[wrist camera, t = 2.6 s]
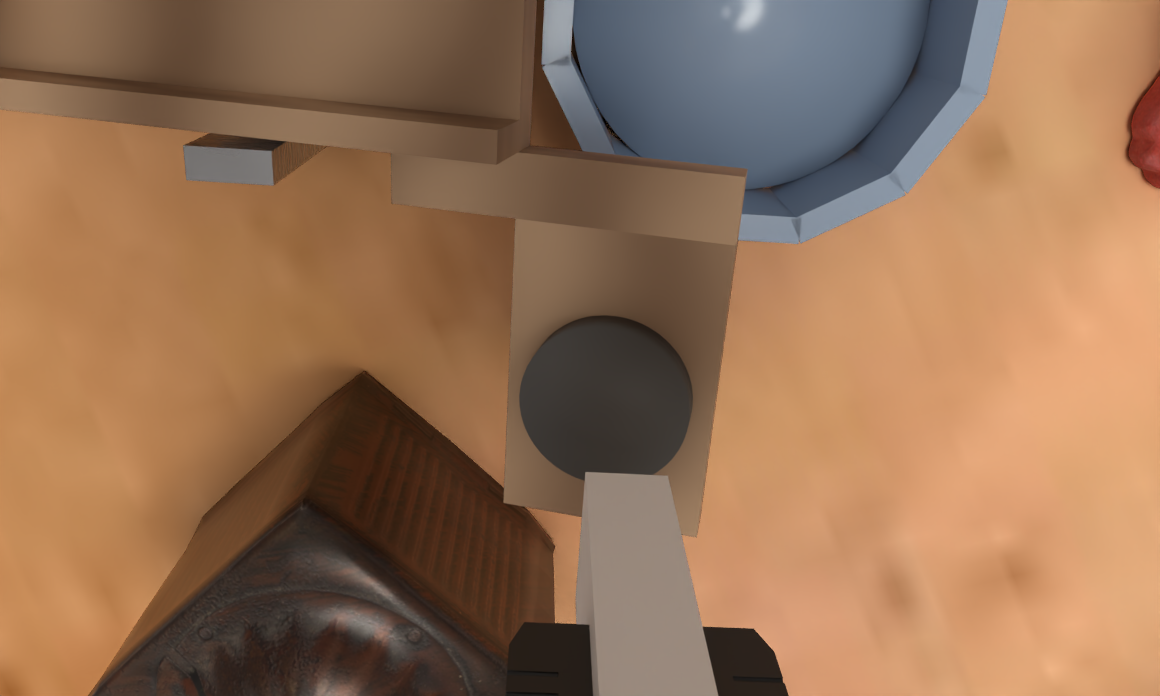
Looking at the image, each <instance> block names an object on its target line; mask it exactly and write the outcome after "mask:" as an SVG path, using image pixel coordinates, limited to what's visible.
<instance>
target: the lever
mask: <svg viewBox="0 0 1160 696" xmlns="http://www.w3.org/2000/svg"><path fill="white" fill-rule="evenodd" d="M536 7H537V0H0V109H1V110H10V111H19V112H28V113H37V114H46V115H55V116H64V117H73V118H82V119H91V120H100V121H108V122H117V123H126V124H135V125H144V126H153V127H162V128H171V129H180V130H189V131H198V132H207V133H216V134H225V135H234V136H243V137H252V138H261V139H269V140H278V141H287V142H296V143H305V144H314V145H323V146H332V147H341V148H350V149H359V150H368V151H377V152H386V153H391V200H392V204H399V205H408V206H416V207H424V208H432V209H440V210H448V211H457V212H465V213H473V214H481V215H489V216H498V217H506V218H514V219H515V238H514V262H513V286H512V310H511V334H510V358H509V382H508V406H507V430H506V454H505V478H504V502H503V503H507V504H512V505H518V506H524V507H529V508H535V509H540V510H546V511H551V512H557V513H563V514H568V515H574V516H579V517H582V509H583V497H584V484H585V472H597V473H619V474H640V475H662V476H668V479H669V483H670V487H671V492H672V496H673V500H674V505H675V509H676V514H677V518H678V522H679V527H680V531H681V535H685V536H691V537H697V533H698V528H699V522H700V517H701V510H702V502H703V495H704V488H705V480H706V473H707V466H708V458H709V451H710V443H711V436H712V429H713V421H714V414H715V407H716V399H717V392H718V384H719V377H720V370H721V362H722V355H723V348H724V340H725V333H726V325H727V318H728V311H729V303H730V296H731V289H732V281H733V274H734V266H735V259H736V252H737V244H738V237H739V230H740V222H741V215H742V207H743V200H744V193H745V185H746V178H747V171H748V169H745V168H736V167H726V166H717V165H708V164H698V163H689V162H680V161H670V160H661V159H652V158H642V157H633V156H624V155H614V154H605V153H596V152H586V151H577V150H568V149H558V148H549V147H540V146H530V136H531V115H532V93H533V72H534V50H535V28H536Z"/></svg>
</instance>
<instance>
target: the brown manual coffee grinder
mask: <svg viewBox="0 0 1160 696" xmlns="http://www.w3.org/2000/svg"><path fill="white" fill-rule="evenodd" d="M503 502H504V488H503V487H502V486H501V485H500V484H499V483H498V482H496V481H495V480H494V479H493V478H492V477H491V476H490V475H489V474H487V473H486V472H485V471H484V470H483V469H482V468H481V467H479V466H478V465H477V464H476V463H475V462H474V461H473V460H472V459H470V458H469V457H468V456H467V455H466V454H465V453H464V452H462V451H461V450H460V449H459V448H458V447H457V446H456V445H455V444H453V443H452V442H451V441H450V440H449V439H448V438H446V437H445V436H444V435H443V434H441V433H440V432H439V431H438V430H436V429H435V428H434V427H433V426H432V425H430V424H429V423H428V422H427V421H425V420H424V419H423V418H422V417H420V416H419V415H418V414H417V413H416V412H414V411H413V410H412V409H411V408H409V407H408V406H407V405H406V404H404V403H403V402H402V401H401V400H400V399H398V398H397V397H396V396H395V395H393V394H392V393H391V392H390V391H388V390H387V389H386V388H385V387H384V386H382V385H381V384H380V383H379V382H377V381H376V380H375V379H374V378H372V377H371V376H370V375H369V374H367V373H366V372H365V371H364V372H363V373H362V374H360V375H359V376H358V377H356V378H355V379H354V380H352V381H351V382H350V383H349V384H347V385H346V386H345V387H343V388H342V389H341V390H339V391H338V392H337V393H336V394H334V395H333V396H332V397H330V398H329V399H328V400H326V401H325V402H324V403H323V404H321V405H320V406H319V407H318V408H317V409H316V410H315V411H314V412H313V413H312V414H311V415H310V416H309V417H308V418H307V419H306V420H305V421H304V422H303V423H301V424H300V425H299V426H298V427H297V428H296V429H295V430H294V431H293V432H292V433H291V434H290V435H289V436H288V437H286V438H285V439H284V440H283V441H282V442H281V443H280V444H279V445H278V446H277V447H276V448H275V449H274V450H273V451H271V452H270V453H269V454H268V455H267V456H266V457H265V458H264V459H263V460H262V461H261V462H260V463H259V464H258V465H256V466H255V467H254V468H253V469H252V470H251V471H250V472H249V473H248V474H247V475H246V476H245V477H244V478H243V479H242V480H240V481H239V482H238V483H237V484H236V485H235V486H234V487H233V488H232V489H231V490H230V491H229V492H228V493H227V494H226V495H225V496H224V497H223V498H222V499H221V500H220V501H219V502H218V503H216V504H215V505H214V506H213V507H212V508H211V509H210V510H209V511H208V512H207V513H206V514H205V515H204V516H203V517H202V519H201V522H200V524H199V526H198V528H197V530H196V532H195V534H194V536H193V538H192V540H191V541H190V543H189V545H188V547H187V549H186V551H185V552H184V554H183V555H182V557H181V558H180V560H179V561H178V563H177V564H176V566H175V567H174V568H173V570H172V571H171V573H170V574H169V576H168V577H167V579H166V580H165V581H164V583H163V584H162V586H161V587H160V589H159V590H158V592H157V593H156V595H155V596H154V598H153V599H152V601H151V602H150V604H149V605H148V607H147V608H146V610H145V611H144V613H143V614H142V616H141V617H140V619H139V620H138V622H137V623H136V625H135V626H134V628H133V630H132V631H131V633H130V634H129V636H128V637H127V639H126V640H125V642H124V643H123V645H122V647H121V648H120V650H119V651H118V653H117V654H116V656H115V657H114V659H113V660H112V662H111V663H110V665H109V667H108V668H107V670H106V671H105V673H104V674H103V676H102V677H101V678H100V680H99V681H98V683H97V684H96V685H95V687H94V688H93V689H92V691H91V692H90V694H89V695H88V696H505V695H506V680H507V666H508V652H509V644H510V642H511V641H512V639H513V638H514V636H515V635H516V633H517V632H518V630H519V629H520V628H521V626H522V625H523V623H524V622H535V623H555V613H554V566H553V552H554V548H555V545H554V544H553V542H552V540H551V539H550V538H549V536H548V535H547V534H546V532H545V531H544V530H543V529H542V527H541V526H540V525H539V524H538V522H537V521H536V520H535V518H534V517H533V516H532V515H531V513H530V512H529V511H528V510H527V509H526V508H525V507H524V506H518V505H512V504H507V503H503Z"/></svg>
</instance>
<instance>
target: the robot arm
mask: <svg viewBox="0 0 1160 696" xmlns="http://www.w3.org/2000/svg"><path fill="white" fill-rule="evenodd" d="M505 696H789V695H788V692H787V689H786V686H785V683H783V677H782V674H781V671H780V668H779V665H778V662H777V659H776V656H775V653H774V651H773V650H772V649H771V648H770V647H769V646H768V644H767V643H766V642H765V641H764V640H763V639H762V638H761V637H760V636H759V634H758V633H757V632H756V631H755V630H754V629H747V628H721V627H702V622H701V618H700V614H699V609H698V605H697V601H696V596H695V592H694V588H693V583H692V579H691V575H690V570H689V566H688V561H687V557H686V553H685V548H684V544H683V540H682V535H681V531H680V527H679V522H678V518H677V514H676V509H675V505H674V500H673V496H672V492H671V487H670V483H669V479H668V476H662V475H640V474H619V473H597V472H585V484H584V497H583V509H582V522H581V535H580V548H579V561H578V573H577V586H576V624H561V623H535V622H524V623H523V625H522V626H521V628H520V629H519V630H518V632H517V633H516V635H515V636H514V638H513V639H512V641H511V642H510V644H509V652H508V666H507V680H506V695H505Z"/></svg>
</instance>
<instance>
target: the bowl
mask: <svg viewBox="0 0 1160 696" xmlns="http://www.w3.org/2000/svg"><path fill="white" fill-rule="evenodd" d="M1007 1H1008V0H544V20H543V40H542V60H541V65H542V69H543V71H544V73H545V75H546V77H547V79H548V81H549V83H550V85H551V87H552V89H553V91H554V93H555V95H556V97H557V99H558V101H559V103H560V106H561V108H562V110H563V112H564V114H565V116H566V118H567V120H568V122H569V124H570V126H571V128H572V130H573V132H574V134H575V136H576V138H577V140H578V142H579V145H580V147H581V149H582V151H586V152H596V153H605V154H614V155H624V156H633V157H642V158H652V159H661V160H670V161H680V162H689V163H698V164H708V165H717V166H726V167H736V168H745V169H748V171H747V178H746V185H745V193H744V200H743V207H742V215H741V222H740V230H739V237H738V240H743V241H759V242H776V243H792V244H798V243H799V242H800V243H803V242H805V241H807V240H809V239H811V238H814V237H816V236H818V235H820V234H822V233H824V232H827V231H829V230H831V229H833V228H835V227H837V226H840V225H842V224H844V223H846V222H848V221H850V220H853V219H855V218H857V217H859V216H861V215H863V214H866V213H868V212H870V211H872V210H874V209H876V208H879V207H881V206H883V205H885V204H887V203H889V202H892V201H894V200H896V199H898V198H900V197H902V196H905V193H904V191H905V192H906V193H908V192H909V191H910V190H911V189H912V187H913V186H914V185H915V184H916V182H917V181H918V180H919V179H920V177H921V176H922V175H923V174H924V172H925V171H926V170H927V169H928V167H929V166H930V165H931V164H932V162H933V161H934V160H935V159H936V158H937V156H938V155H939V154H940V153H941V151H942V150H943V149H944V148H945V146H946V145H947V144H948V143H949V141H950V140H951V139H952V138H953V136H954V135H955V134H956V133H957V132H958V130H959V129H960V128H961V127H962V125H963V124H964V123H965V122H966V120H967V119H968V118H969V117H970V115H971V114H972V113H973V112H974V110H975V109H976V108H977V107H978V105H979V104H980V103H981V102H982V101H983V99H984V98H985V97H984V96H983V95H986V94H987V89H988V85H989V80H990V76H991V72H992V67H993V63H994V58H995V54H996V49H997V45H998V41H999V36H1000V32H1001V27H1002V23H1003V19H1004V14H1005V10H1006V5H1007ZM572 26H573V31H574V39H575V47H576V52H577V56H578V60H579V64H580V68H581V71H582V74H583V76H582V74H581V72H580V70H579V68H578V66H577V64H576V61H575V59H574V57H573V55H572V53H571V43H572ZM583 77H584V78H583ZM584 79H585V81H584ZM585 82H586V83H585ZM586 84H587V85H586ZM595 103H596V104H595ZM596 105H597V106H596ZM597 107H598V108H597ZM598 109H599V110H598ZM599 111H600V112H601V114H602V116H603V117H604V118H605V120H606V121H607V122H608V124H609V125H610V126H611V128H612V129H613V130H614V132H615V133H616V134H617V135H618V136H619V137H620V138H621V139H622V140H623V141H624V142H625V143H626V144H627V145H628V146H627V145H626V144H624V143H623V142H621V141H620V140H618V139H617V138H616V137H614V136H613V135H611V134H610V133H609V131H608V129H607V127H606V125H605V123H604V121H603V119H602V116H601V114H600V112H599ZM764 187H770V188H764Z"/></svg>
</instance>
